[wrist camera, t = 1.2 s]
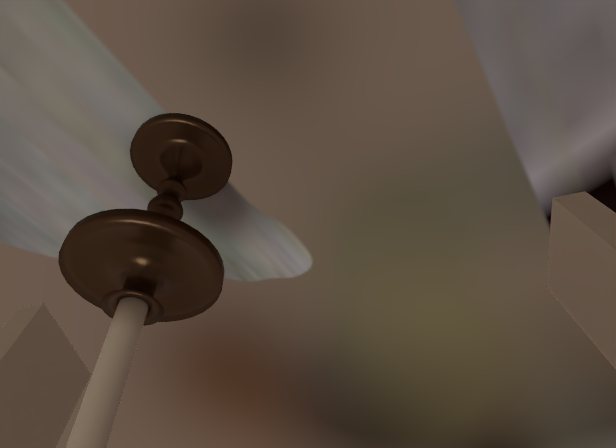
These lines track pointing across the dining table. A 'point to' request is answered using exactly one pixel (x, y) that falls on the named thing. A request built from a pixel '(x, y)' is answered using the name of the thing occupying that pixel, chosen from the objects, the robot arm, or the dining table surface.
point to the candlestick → (146, 257)
